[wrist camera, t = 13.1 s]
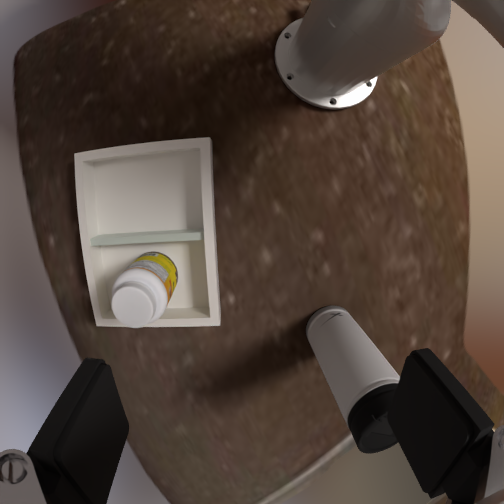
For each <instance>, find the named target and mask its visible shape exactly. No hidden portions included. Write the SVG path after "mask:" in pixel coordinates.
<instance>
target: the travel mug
mask: <svg viewBox="0 0 504 504" xmlns="http://www.w3.org/2000/svg"><path fill="white" fill-rule="evenodd" d="M306 335H307V338H308V341H309V343H310V345H311V347H312V349H313V351H314V353H315V356H316V358H317V360H318V362H319V364H320V367H321V369H322V371H323V373H324V375H325V377H326V380H327V382H328V384H329V386H330V388H331V391H332V393H333V395H334V397H335V399H336V402H337V404H338V406H339V408H340V410H341V413H342V415H343V417H344V419H345V421H346V424H347V426H348V428H349V429H350V431H351V432H352V435H353V438H354V440H355V442H356V444H357V447H358V449H359V450H360V451H361V452H363V453H376V452H380V451H383V450H385V449H388V448H390V447H392V446H393V445H395V444H397V443H398V440H397V438H396V437H395V435H394V433H393V431H392V429H391V427H390V425H389V423H388V420H387V414H388V411H389V408H390V405H391V403H392V400H393V397H394V394H395V391H396V388H397V385H398V382H399V379H400V376H399V375H398V374H397V373H396V371H395V370H394V369H393V367H392V366H391V365H390V364H389V362H388V361H387V360H386V359H385V357H384V356H383V355H382V354H381V352H380V351H379V350H378V349H377V347H376V346H375V345H374V344H373V342H372V341H371V340H370V339H369V337H368V336H367V335H366V334H365V332H364V331H363V330H362V329H361V328H360V326H359V325H358V324H357V323H356V321H355V320H354V319H353V318H352V317H351V315H350V314H349V313H348V312H347V311H346V310H345V309H344V308H342V307H339V306H327V307H324V308H321V309H320V310H318V311H317V312H315V313H314V314H313V315H312V316H311V318H310V319H309V321H308V323H307V326H306Z"/></svg>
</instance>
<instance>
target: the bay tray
mask: <svg viewBox="0 0 504 504" xmlns="http://www.w3.org/2000/svg"><path fill="white" fill-rule="evenodd" d="M74 155H75V182H76V197H77V209H78V220H79V229H80V237H81V245H82V252H83V259H84V265H85V271H86V277H87V282H88V288H89V293H90V298H91V303H92V308H93V312H94V317H95V321H96V325H97V326H114V327H128V326H125V325H124V324H122V323H121V322H119V320H118V319H117V318H116V317H115V315H114V313H113V311H112V306H111V302H112V287H113V284H114V282H115V280H116V279H117V277H118V276H119V275H120V274H121V273H122V272H123V271H124V270H125V269H126V268H127V267H128V266H130V265H131V264H132V263H133V262H134V261H135V260H136V259H137V258H138V257H140V256H141V255H142V254H144V253H147V252H151V251H156V252H161V253H163V254H165V255H167V256H168V257H170V258H171V259H172V260H173V262H174V263H175V265H176V267H177V270H178V282H177V285H176V287H175V290H174V292H173V294H172V296H171V299H170V301H169V303H168V305H167V308H166V310H165V312H164V313H163V315H162V316H161V317H160V318H159V319H158V320H156V321H155V322H153V323H150V324H146V325H145V326H143V327H189V326H220V318H221V308H220V294H219V279H218V263H217V246H216V228H215V207H214V184H213V156H212V140H211V138H210V137H206V138H191V139H179V140H168V141H158V142H148V143H140V144H132V145H124V146H117V147H110V148H104V149H97V150H91V151H86V152H80V153H75V154H74Z"/></svg>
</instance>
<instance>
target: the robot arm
mask: <svg viewBox="0 0 504 504" xmlns="http://www.w3.org/2000/svg"><path fill="white" fill-rule="evenodd" d="M311 1H312V2H311V4H310V6H309V8H308V10H307V12H306V14H305V16H304V18H301V19H298V20H296V21H294V22H293V23H291V24H289V25H288V26H287V27H286V28H285V29H284V30H283V31H282V33H281V35H280V36H279V38H278V40H277V43H276V47H275V52H274V56H275V64H276V68H277V71H278V73H279V75H280V77H281V79H282V81H283V82H284V84H285V85H286V86H287V88H288V89H289V90H290V91H292V92H293V93H294V94H295V95H296V96H297V97H299V98H300V99H302V100H303V101H305V102H307V103H309V104H311V105H313V106H316V107H320V108H323V109H331V110H338V109H345V108H349V107H352V106H354V105H357V104H359V103H360V102H362V101H363V100H365V99H366V98H367V97H368V96H369V95H370V94H371V92H372V91H373V89H374V87H375V85H376V81H377V77H378V76H379V75H381V74H382V73H384V72H386V71H387V70H389V69H391V68H392V67H394V66H396V65H397V64H399V63H401V62H403V61H404V60H406V59H408V58H410V57H411V56H413V55H415V54H417V53H418V52H420V51H422V50H424V49H425V48H427V47H429V46H431V45H432V44H434V43H435V42H436V41H438V40H439V39H440V37H441V36H442V35H443V34H444V32H445V30H446V28H447V26H448V23H449V18H450V12H451V0H311ZM452 1H454V2H455V3H456V4H457V5H459V6H460V7H461V8H462V9H464V10H465V11H466V12H467V13H468V14H469V15H470V16H471V17H473V18H475V19H476V20H477V21H478V22H479V23H480V24H481V25H482V26H483V27H484V28H485V29H486V30H487V31H488V32H489V33H490V34H491V35H492V36H493V37H494V38H495V39H496V40H497V41H498V42H499V44H500V45H501V46H502V47H503V48H504V0H452ZM285 37H287V38H288V39H287V38H285ZM287 77H290V78H291V80H288V79H287ZM366 84H367V86H368V87H367V86H366ZM329 101H331V102H332V103H333V104H332V105H331V104H330V102H329ZM387 420H388V423H389V425H390V427H391V429H392V431H393V433H394V435H395V437H396V438H397V440H398V442H399V444H400V446H401V448H402V450H403V452H404V454H405V456H406V458H407V460H408V462H409V464H410V466H411V468H412V470H413V472H414V474H415V476H416V478H417V480H418V482H419V484H420V486H421V488H422V490H423V491H424V492H425V493H428V494H429V496H430V498H431V499H432V498H434V497H437V496H439V495H441V494H444V493H445V492H446V494H447V496H448V498H447V501H446V504H504V425H502V426H500V427H498V428H497V429H496V430H495V432H494V431H493V430H492V428H493V426H494V423H493V422H492V420H491V419H490V418H489V417H488V415H487V414H486V413H485V412H484V411H483V409H482V408H481V407H480V406H479V405H478V403H477V402H476V401H475V400H474V399H473V397H472V396H471V395H470V394H469V393H468V392H467V390H466V389H465V388H464V387H463V386H462V385H461V383H460V382H459V381H458V380H457V379H456V378H455V377H454V375H453V374H452V373H451V372H450V371H449V370H448V369H447V368H446V366H445V365H444V364H443V363H442V362H441V361H440V360H439V359H438V358H437V356H436V355H435V354H434V353H433V352H432V351H431V350H430V349H428V348H425V349H420V350H414V351H412V352H411V353H410V356H408V357H407V358H406V360H405V364H404V367H403V370H402V373H401V376H400V379H399V382H398V385H397V388H396V391H395V394H394V397H393V400H392V403H391V405H390V408H389V411H388V414H387ZM128 432H129V423H128V420H127V417H126V415H125V412H124V409H123V406H122V403H121V400H120V397H119V394H118V390H117V387H116V384H115V381H114V377H113V374H112V370H111V367H110V366H109V365H107V364H106V363H105V361H104V360H102V359H94V358H85V359H84V361H83V362H82V364H81V365H80V367H79V368H78V370H77V371H76V373H75V374H74V376H73V377H72V379H71V380H70V382H69V383H68V385H67V387H66V388H65V390H64V391H63V393H62V394H61V396H60V397H59V399H58V401H57V402H56V404H55V406H54V407H53V409H52V410H51V412H50V414H49V415H48V417H47V419H46V420H45V422H44V424H43V425H42V427H41V429H40V430H39V432H38V434H37V435H36V437H35V439H34V441H33V442H32V444H31V446H30V448H29V450H28V452H27V453H24V452H22V451H20V450H16V449H9V450H5V451H3V452H1V453H0V504H106V503H107V500H108V496H109V492H110V489H111V486H112V483H113V479H114V476H115V473H116V470H117V467H118V463H119V460H120V457H121V453H122V451H123V448H124V445H125V442H126V439H127V436H128Z"/></svg>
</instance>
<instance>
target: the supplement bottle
mask: <svg viewBox="0 0 504 504" xmlns="http://www.w3.org/2000/svg"><path fill="white" fill-rule="evenodd" d="M177 282H178V270H177V267H176V265H175V263H174V262H173V260H172V259H171V258H170V257H168V256H167V255H165V254H163V253H161V252H156V251H151V252H147V253H144V254H142V255H141V256H140V257H138V258H137V259H136V260H135V261H134V262H133V263H132V264H131V265H130V266H128V267H127V268H126V269H125V270H124V271H123V272H122V273H121V274H120V275H119V276H118V277H117V279H116V280H115V282H114V284H113V287H112V302H111V306H112V311H113V313H114V315H115V317H116V318H117V319H118V320H119V322H121V323H122V324H124V325H125V326H128V327H131V328H140V327H143V326H145V325H146V324H150V323H153V322H155V321H156V320H158V319H159V318H160V317H161V316H162V315H163V313H164V312H165V310H166V308H167V305H168V303H169V301H170V299H171V296H172V294H173V292H174V290H175V287H176V285H177Z"/></svg>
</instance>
